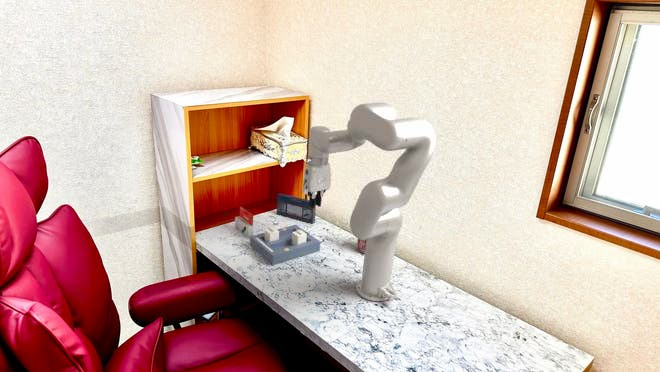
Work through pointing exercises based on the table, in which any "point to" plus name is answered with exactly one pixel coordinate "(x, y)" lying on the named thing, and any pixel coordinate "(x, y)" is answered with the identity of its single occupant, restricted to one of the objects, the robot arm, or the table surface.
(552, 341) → the table surface
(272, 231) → the tab
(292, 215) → the vhs cassette tape
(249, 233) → the ink box
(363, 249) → the soda can
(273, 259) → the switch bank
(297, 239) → the tab
